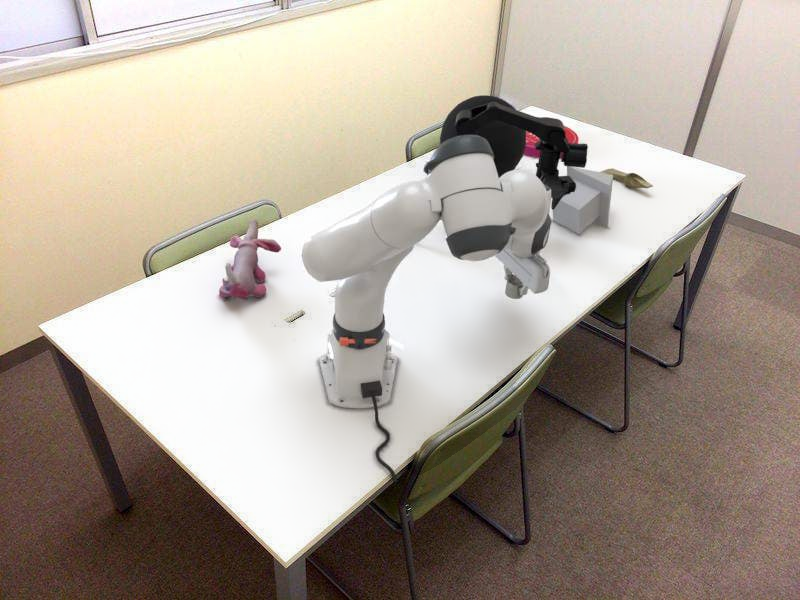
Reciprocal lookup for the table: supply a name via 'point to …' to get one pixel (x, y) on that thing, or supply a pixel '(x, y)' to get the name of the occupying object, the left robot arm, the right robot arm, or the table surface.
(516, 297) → the tin
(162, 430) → the table surface
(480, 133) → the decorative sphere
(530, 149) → the sign
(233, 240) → the toy
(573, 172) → the grey flanged block
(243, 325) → the table surface
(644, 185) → the tool
